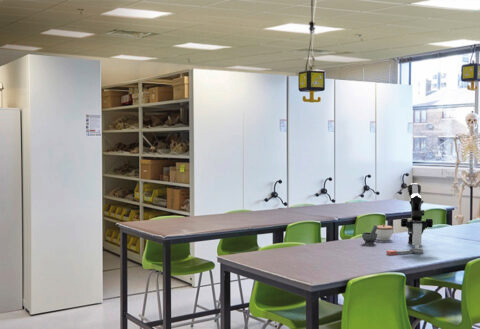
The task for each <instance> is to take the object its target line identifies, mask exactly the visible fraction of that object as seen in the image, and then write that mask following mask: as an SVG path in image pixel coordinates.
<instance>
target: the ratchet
mask: <svg viewBox="0 0 480 329" xmlns="http://www.w3.org/2000/svg"><path fill="white" fill-rule="evenodd" d="M422 254H424V249H423V248H420V245H414V247H412V248H411V249H406V250H405V249H404V250H403V249H402V250H394V249H392V250H386V255H387V256H398V255H422Z"/></svg>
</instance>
